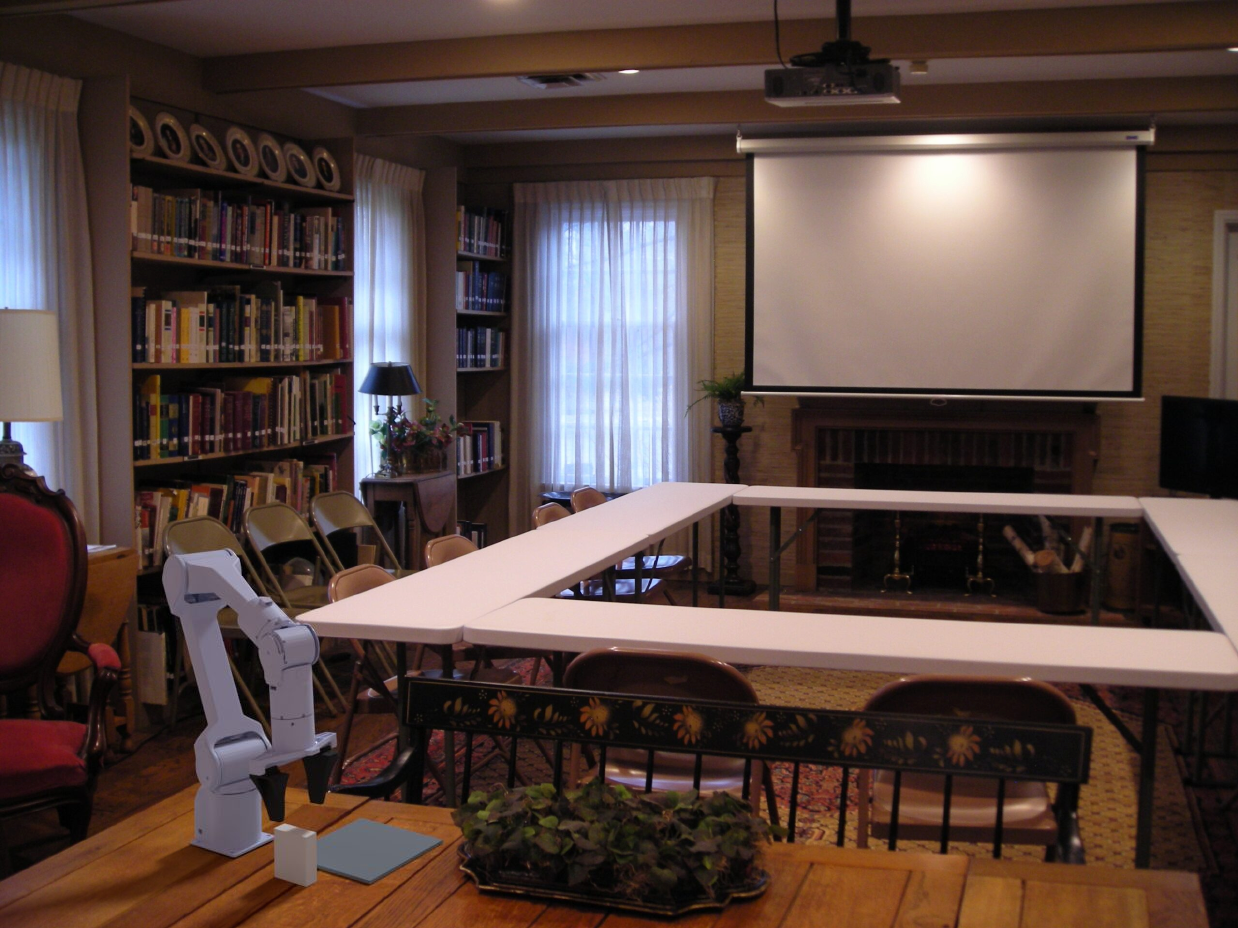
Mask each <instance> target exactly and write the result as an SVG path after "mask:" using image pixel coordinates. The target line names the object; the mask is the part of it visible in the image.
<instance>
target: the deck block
mask: <svg viewBox="0 0 1238 928" xmlns="http://www.w3.org/2000/svg"><path fill="white" fill-rule="evenodd" d="M273 835H274V839H273V846H274V847H273V848H274V849H273V851H274V852H273V853H274V854H273V855H274V859H273V860H274V861H273V862H274V877H275V878H277V879H280V880H284V881H286V882H291V883H292V884H296V885H300V886H303V887H305V888H307V887H309V886H311V885H313V884H314V883H317V882H318V868H317V844H316V840H317V831H312V830H309V829H306V828H302V827H299V826H295V825H291V824H289V823H283V824H280V825H279V826H276V827H274V828H273Z"/></svg>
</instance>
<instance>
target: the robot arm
mask: <svg viewBox="0 0 1238 928" xmlns="http://www.w3.org/2000/svg"><path fill="white" fill-rule="evenodd" d="M161 578H162V579H161V580H162V585H163V589H164V592H165V596H166V601H167V603H168V606H169V610H170V613H171V614H172V615H174V616H176V617H178V618H179V620H180V624H181V626H182V631H183V634H184V638H185V642H186V646H187V650H188V654H189V658H190V661H191V665H192V668H193V672H194V676H195V679H196V685H197V687H198V692H199V695H200V700H201V704H202V706H203V711H204V714H205V718H206V721H207V726H206V727H205V728H204V730H203V731H202V732H201V733H200V735H199V736H197V738H196V740H195V743H194V744H193V747H194V754H195V771H196V776H197V779H198V781H199V783H200V784H201V785H200V787H199V788H198V790H197V791H196V794H195V797H194V804H193V806H194V809H193V810H194V838H193V839H191V840H190V842H189V843H190V844H191V846H192V845H193V846H196V847H199V848H203V849H206V850H208V851H211V852H215V853H218V854H220V855H221V854H222V855H225V856H228V857H231V858H237V857H239V856H241V855H243V854H244V855H245V853H248V852H250V851H252V850H254V849H257V848H258V847H260V846H262V845H265V844H266V843H269V842H271V841H274V834H271V833H267V832H263V831H262V824H263V823H262V802H263V803H264V806H265V810H266V814H267V815H268V820H269V821H271V822H274V823H283V822H284V821H285V815H286V803H285V802H286V800H285V799H286V790H287V785H288V781H289V778H290V773H288V772H284V771H283V772H281V769H279V767H281V766H284V765H287V764H289V763H292V762H295V761H297V760H300V759H301V761H302V764H303V768H304V771H305V775H306V785H307V793H308V794H307V795H308V800H309V802H310V804H315V805H320V806H321V805H323V804H325V801H326V795H327V791H328V790H327V789H328V785H329V782H330V778H331V774H332V772H333V769H334V767H335V765H336V763H337V761H338V760H339V758H340V757H339V751H338V750H335V749H334V748H336V747H337V746H338V741H337V732H328V731H325V732H322V733H318V734H316V729H315V711H314V708H315V707H314V691H313V690H314V687H313V669H312V668H313V667H312V666H313V665H314V664H316V662H318V660H319V657H320V649H321V648H320V641H319V637H318V634H317V633H316V631H315V629H313V627H312V625H311V624H310V623H308V622H307V623H300V621H297V622H294V621H293V620H292V619H291V618H290V617H289V616H288V615H287V614H286V613H285V612H284V611H283V610H282V609H281V608H280V607H279V606H278V605H277V604H276V603H275V601H274V600H273V599H272V598H271V597H270V596H258V595H257V593H256V592H255V591H254V590H253V589H252V587H251V586H250V585H249V583H248V582H247V581H246V579H245V578H244V576H242V566H241V561H240V558H239V557H238V556H237V554H236V553H235V552H234V551H233V550H232V548H229V547H228V548H222V549H219V550H211V551H200V552H194V553H186V554H185V553H183V554H171V555H169V556H168V558H167V559H166V560H165V563H164V566H163V571H162V577H161ZM227 605H228V607H230V608H231V609H232V610H233V611H234V612H236V613H237V625H238V627H239V629H241V630H242V632H243V633H244V634H245V635H246V636H247V638H249V639H250V640H251V641H252V642H253V644H254V645H255V646H256V647H257V648H258V657H259V660H260V664H261V667H262V669H263V671H264V672H263V673H264V680H265V683H266V684H267V685H268V686H269V690H268V691H269V705H270V707H269V708H270V724H271V727H270V728H271V729H270V730H271V742H270V741H269V739H268V737H267V736H266V734H265V732H264V728H263V726H262V724H261V723H260V722H259V721H257V720H255V719H252V718H250V717H248V716H246V715H244V712H243V709H242V705H241V703H240V702H241V701H240V699H239V696H238V695H239V694H238V692H237V691H238V690H237V687H236V684H235V681H234V677H233V673H232V669H231V665H230V663H229V659H228V654H227V651H226V648H225V642H224V641H223V640H224V639H223V636H222V632H221V629H220V626H219V621H218V618H217V617H218V614H219V613H218V612H219V611H220V610H222V609H224V608H225V607H226V606H227Z"/></svg>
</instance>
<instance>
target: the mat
mask: <svg viewBox="0 0 1238 928" xmlns="http://www.w3.org/2000/svg"><path fill="white" fill-rule="evenodd" d="M316 844H317V870H318V869H319V870H322V871H324V872H328V873H332V874H336V875H339V876H342V877H345V878H349V879H351V880H355V881H358V882H361V883H365V884H368V885H372V884H374V883H375V882H377V881H379V880H381V879H382V878H384V877H386V876H388V875H389V874H391V873H393V872H395V871H396V870H398V869H400V868H402V867H403V866H405V865H408V863H410V862H412V861H414V860H416V859H417V858H419V857H422V856H424V855H425V854H427V853H428V852H430V851H432V850H434V849H435V848H437V847H439V846H440V845H442V844H444V839H442V838H438V837H433V836H430V835H426V834H423V833H418V832H415V831H411V830H409V829H404V828H400V827H397V826H393V825H390V824H386V823H383V822H379V821H375V820H371V819H367V818H364V817H360V818H358V819H356V820H353V821H352V822H350V823H347V824H345V825H344V826H341V827H340V828H338V829H336V830H334V831H331V832H329V833H328V834H325V835H323V836H321V837H320V838H318V839H317V838H316Z"/></svg>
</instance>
